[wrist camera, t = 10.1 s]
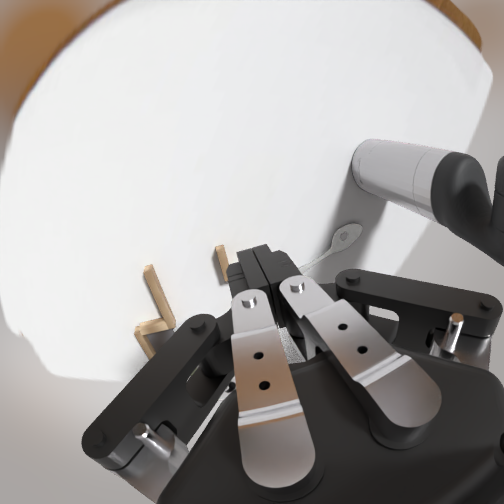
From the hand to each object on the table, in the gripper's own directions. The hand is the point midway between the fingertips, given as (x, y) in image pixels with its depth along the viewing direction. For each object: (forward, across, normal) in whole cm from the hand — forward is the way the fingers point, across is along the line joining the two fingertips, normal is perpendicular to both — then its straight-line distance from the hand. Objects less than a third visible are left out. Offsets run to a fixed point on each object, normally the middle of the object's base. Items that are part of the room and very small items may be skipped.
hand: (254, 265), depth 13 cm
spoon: (+27, -12, +17) cm, 34 cm away
